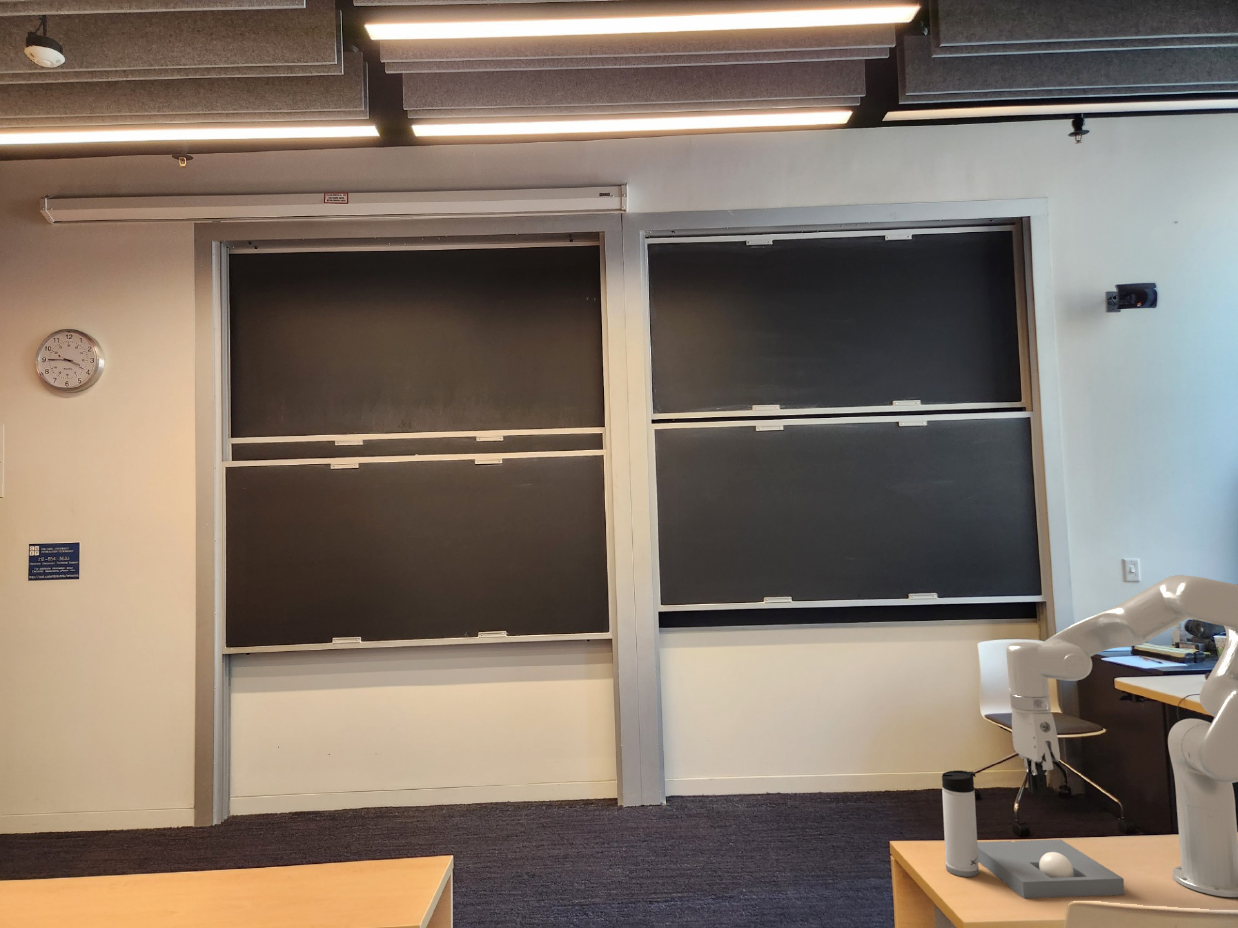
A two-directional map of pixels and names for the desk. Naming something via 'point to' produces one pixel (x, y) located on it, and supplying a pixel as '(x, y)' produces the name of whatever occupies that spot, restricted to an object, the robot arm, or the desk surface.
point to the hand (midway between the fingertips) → (1038, 792)
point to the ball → (1055, 865)
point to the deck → (1025, 878)
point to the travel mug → (960, 823)
